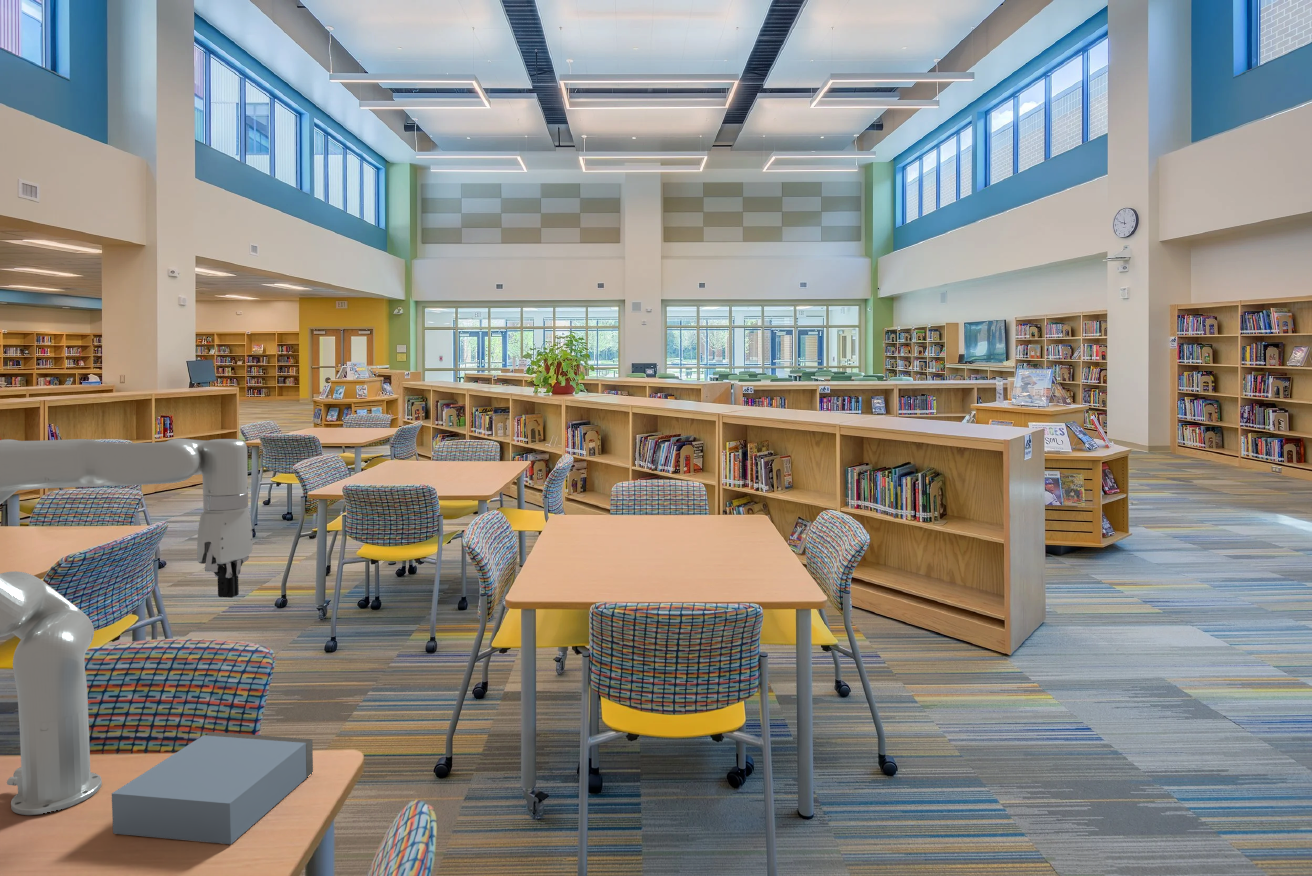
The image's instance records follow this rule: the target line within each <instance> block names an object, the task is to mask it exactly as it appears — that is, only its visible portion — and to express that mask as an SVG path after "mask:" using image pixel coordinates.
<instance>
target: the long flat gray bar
mask: <svg viewBox="0 0 1312 876" xmlns="http://www.w3.org/2000/svg"><path fill="white" fill-rule="evenodd" d="M205 736H218V737H232V738H246V739H260V740H273V741H287V742H301V743H306V776H307V777H308V776H309V775H310V774H312V772H313V773H314V757H313V756H314V755H313V751H314V750H313V739H312V738H301V737H288V736H287V737H285V736H273V735H272V736H271V735H258V734H244V733H231V732H215V731H210V732H209V733H207V734H206V735H205ZM312 775H313V774H312Z"/></svg>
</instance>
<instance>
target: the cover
mask: <svg viewBox="0 0 1312 876" xmlns="http://www.w3.org/2000/svg"><path fill="white" fill-rule="evenodd" d="M306 778H307V776H306V743H301V742H287V741H273V740H260V739H246V738H232V737H218V736H206V735H204V734H203V735H202V736H200V737H199V738H197V739H196V740H194V741H192V742H190V743H189V744H188V745H186V746H184V747H182V748H181V749H180V750H178V751H177V752H175V753H173V754H171V755H170V756H169V757H167V758H165V759H163V760H162V761H160V762H159V763H158V764H156V765H154V766H152V767H150V768H149V769H148V770H147V771H144V772H143V773H141V774H140V775H138V776H137V777H135V778H134V779H133V780H131V781H129V782H127V783H125V784H124V785H123V786H121V787H120V788H117V790H115V791H113V792H112V793H111V812H112V813H111V814H112V816H111V817H112V833H113V834H115V835H125V836H137V837H138V836H139V837H148V838H159V839H170V840H181V841H190V842H191V841H192V842H203V843H211V844H213V843H214V844H222V845H223V844H224V845H226V844H227V845H232V844H233V843H235V841H237V840H238V838H240V837H241V836H242V835H243V834H244V833H246V832H247V831H248V830H249V829H250V828H251V827H252V826H254V825H255V824H256V823H257V822H258V821H259V820H261V819H262V817H264V816H265V815H266V814H268V813H269V812H270V811H271V810H272V809H273V808H275V806H277V805H278V804H279V802H281V801H282V800H283V799H284V798H285V797H286V796H288V795H289V794H290V793H291V792H292V791H294V789H296V788H297V787H298V786H299V785H300V784H301V783H303V781H305V780H307V779H306Z"/></svg>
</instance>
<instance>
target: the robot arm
mask: <svg viewBox="0 0 1312 876" xmlns="http://www.w3.org/2000/svg"><path fill="white" fill-rule="evenodd" d="M197 475H198V476H199V475H202V500H203V501H202V503H203V504H202V505H203V512H201V513H200V517H199V522H198V528H197V541H196V542H197V544H196V545H197V546H196V555H197V556H196V557H197V563H199V564H200V565H202V564H203V565H204V564H205V565H204V571H205V572H206V573H207V572H208V573H214V577H215V578H217V596H218V597H219V598H228V599H229V598H234V597H237V596H239V594H240V593H239V589H240V588H239V585H240V584H239V575H240V574H241V570H242V565H243V564H245V562H247V561H249V559H250V557H249V556H250V555H251V553H252V552H253V545H254V544H253V541H254V540H253V527H252V519H251V515H250V509H249V483H248V482H249V481H248V475H249V474H248V447H247V443H246V442H245V441H244V440H241V439H238V438H237V439H236V438H217V439H215V438H214V439H210V440H201V439H192V438H191V439H190V438H181V437H180V438H173V439H172V438H171V439H169V440H167V441H162V442H161V441H159V442H136V443H135V442H132V443H131V442H130V443H129V442H125V443H124V442H123V443H122V442H119V443H118V442H103V441H99V440H94V439H88V438H87V439H85V438H77V439H76V438H75V439H74V438H73V439H54V440H53V439H52V440H51V439H49V440H48V439H47V440H46V439H45V440H42V439H41V440H19V439H18V440H16V439H10V438H8V439H7V438H6V439H0V505H1V504H3V503H4V502H5V501H6V500H8V499H10V497H11V496H12V495H14V494H15V493H16V492H18V491H24V490H26V491H27V490H43V489H58V488H59V489H63V488H82V487H83V488H84V487H86V488H88V487H89V488H90V487H91V488H98V487H99V488H100V487H111V486H115V487H118V486H123V487H124V486H142V485H143V486H145V485H147V486H148V485H164V484H175V483H176V484H177V483H182V482H184V481H186V480H188V479H191V478H192V477H193V476H197ZM94 628H95V626H94V624H93V622H92V620H91V619H90V618H89V616H88V615H87V614H85V612H83V610H81V609H80V608H79V607H77V606H76V605H75V604H73V602H71V601H70V600H68V598H66V597H65V596H64V595H62V594H60V593H59V592H58V590H55V589H54V588H53V587H51V585H49V584H47V583H46V582H45V581H44V580H43V579H41V578H39V577H37V576H35V575H33V574H31V573H28V572H23V571H16V570H15V571H6V572H2V573H0V638H1V637H6V636H8V635H11V634H13V635H14V636H16V637H17V638H19V640H20V641H19V642H18V644H17V646H16V648H15V650H14V653H13V658H12V669H13V670H12V671H13V677H14V683H15V688H16V692H17V693H16V695H17V704H18V705H17V708H18V710H17V711H18V721H19V722H18V723H19V724H18V725H19V744H20V766H21V767H18V768H16V769H15V770H14V771H13V776H10V777H9V778H8V779H7V780H6V785H8V786H17V793H16V794H15V795H14V796H13V797H12V799H11V802H10V806H11V808H10V809H11V810H12V812H14V813H16V814H19V815H23V816H24V815H25V816H36V815H43V813H45V814H48V813H47V812H50V813H52V812H51V811H54V812H57V811H56V810H58V811H61V809H62V810H64V809H68V808H70V807H72V806H75V805H77V804H80V803H82V802H84V801H86V800H87V799H89V798H91V797H92V796H93V795H95V794H96V793H97V792H98V791H100V789H101V787H102V783H103V782H102V777H101V775H99V774H98V773H95V772H92V771H91V753H90V752H91V751H90V750H91V749H90V748H91V747H90V726H89V723H90V722H89V703H88V702H89V701H88V700H89V699H88V685H87V677H86V674H87V673H86V668H85V667H86V665H85V655H86V652H87V651H88V649H89V647H90V645H91V644H92V642H93V639H94V634H95V629H94Z"/></svg>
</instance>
